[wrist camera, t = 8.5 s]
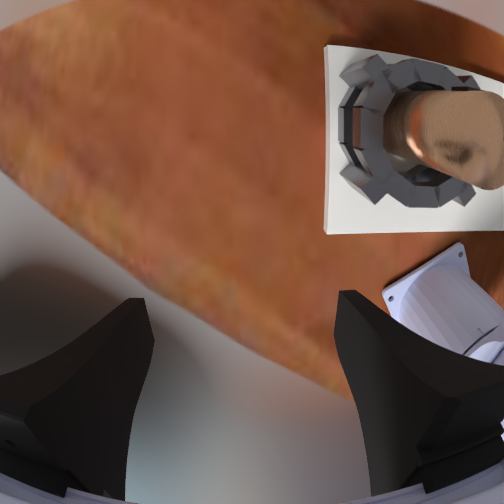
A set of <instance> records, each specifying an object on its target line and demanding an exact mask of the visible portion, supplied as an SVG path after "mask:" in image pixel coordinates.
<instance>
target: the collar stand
mask: <svg viewBox="0 0 504 504" xmlns="http://www.w3.org/2000/svg"><path fill="white" fill-rule="evenodd" d="M339 76H340V77H341V78H342V79H343V80H344V81H345V82H346V84H347V85H348V86H349V89H348V91H347V92H346V94H345V96H344V97H343V99H342V101H341V103H340V104H339V107H341V108H338V141H340V142H339V145H340V147H341V149H342V150H343V152H344V154H345V156H346V158H347V160H348V162H349V164H348V165H347V166H346V167H345V168H344V169H343V170H342V171H341V172H340V173H339V174H340V175H341V176H342V177H343V178H344V180H345V181H346V182H347V183H348V184H349V185H350V186H351V187H352V188H353V189H355V190H356V191H357V192H359V193H360V194H361V195H362V196H364V197H365V198H366V199H368V200H369V201H370V202H371V203H373V204H374V205H376V204H377V203H378V202H379V201H380V200H381V199H382V198H383V197H384V196H385V195H386V194H388V195H390V196H391V197H393V198H394V199H396V200H397V201H399V202H400V203H401V204H403V205H404V206H406V207H408V208H438V207H441V206H443V205H444V204H446V203H448V202H449V201H451V200H453V201H455V202H457V203H458V204H460V205H462V206H464V207H465V206H466V205H467V204H468V202H469V201H470V200H471V199H472V198H473V197H474V196H475V195H476V192H475V190H474V188H473V186H472V185H471V184H469V183H467V182H464V181H462V180H460V179H457V178H455V177H452V176H450V175H447V174H445V173H442V172H440V171H437V170H435V169H432V168H430V167H427V166H424V165H422V164H418V165H417V166H415V167H413V168H411V169H410V170H408V171H406V172H396V171H395V170H394V168H393V166H392V164H391V161H390V159H389V157H388V155H387V153H386V150H385V148H384V146H383V115H384V113H385V111H386V109H387V108H388V106H389V104H390V102H391V100H392V99H393V97H394V95H395V93H396V91H398V90H400V89H402V88H404V87H407V88H409V89H410V90H411V91H432V90H452V89H451V87H460V86H468V87H472V88H476V89H480V87H479V86H478V84H477V82H476V81H475V79H474V78H473V76H472V75H465V76H456V75H455V74H454V73H453V72H452V71H450V70H449V69H448V68H447V67H444V65H441V64H437V63H433V62H428V61H424V60H420V59H415V58H412V59H411V58H410V59H406V60H402V61H399V62H397V63H395V64H386V63H385V62H384V60H383V59H382V58H381V57H380V56H379V55H378V54H375V55H373V56H370V57H368V58H365V59H363V60H360V61H358V62H355V63H353V64H351V65H350V66H349V67H348V68H347V69H346V70H345V71H344V72H342V73H341V74H340V75H339Z"/></svg>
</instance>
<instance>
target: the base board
mask: <svg viewBox="0 0 504 504" xmlns="http://www.w3.org/2000/svg"><path fill="white" fill-rule="evenodd" d="M375 54H378V55H379V56H380V57H381V58H382V59H383V60H384V62H385V63H386V64H395V63H397V62H399V61H402V60H406V59H410V58H411V59H412V58H415V57H410V56H405V55H400V54H395V53H389V52H383V51H377V50H370V49H363V48H355V47H346V46H335V45H327V46H326V47H324V64H325V96H326V175H325V209H324V230H325V232H326V233H327V234H354V233H392V232H439V231H504V185H503V186H502V187H500V188H498V189H495V190H483V189H480V188H478V187H476V186H474V185H472V186H473V188H474V190H475V192H476V195H475V196H474V197H473V198H472V199H471V200H470V201H469V202H468V204H467V205H466V206H465V207H464V206H462V205H460V204H458V203H457V202H455V201H453V200H451V201H449V202H448V203H446V204H444V205H443V206H441V207H438V208H408V207H406V206H404V205H403V204H401V203H400V202H399V201H397V200H396V199H394V198H393V197H391V196H390V195H388V194H386V195H385V196H384V197H383V198H382V199H381V200H380V201H379V202H378V203H377V204H376V205H374V204H373V203H371V202H370V201H369V200H368V199H366V198H365V197H364V196H362V195H361V194H360V193H359V192H357V191H356V190H355V189H353V188H352V187H351V186H350V185H349V184H348V183H347V182H346V181H345V180H344V178H343V177H342V176H341V175H340V174H339V173H340V172H341V171H342V170H343V169H344V168H345V167H346V166H347V165H348V164H349V162H348V160H347V158H346V156H345V154H344V152H343V150H342V149H341V147H340V145H339V142H340V141H338V108H341V107H339V104H340V103H341V101H342V99H343V97H344V96H345V94H346V92H347V91H348V89H349V86H348V85H347V84H346V82H345V81H344V80H343V79H342V78H341V77H340V76H339V75H340V74H341V73H342V72H344V71H345V70H346V69H347V68H348V67H349V66H350V65H351V64H353V63H355V62H358V61H360V60H363V59H365V58H368V57H370V56H373V55H375ZM415 59H420V58H415ZM420 60H424V59H420ZM424 61H428V60H424ZM428 62H433V61H428ZM433 63H437V62H433ZM437 64H441V63H437ZM441 65H444V64H441ZM444 67H447V68H448V69H449V70H450V71H452V72H453V73H454V74H455V75H456V76H465V75H472V76H473V78H474V79H475V81H476V82H477V84H478V86H479V87H480V89H481V90H484V91H490V92H494V93H496V94H498V95H500V96H501V97H502V98H504V83H501V82H499V81H496V80H493V79H490V78H487V77H485V76H482V75H478V74H475V73H472V72H469V71H466V70H462V69H459V68H455V67H452V66H448V65H444ZM406 91H411V90H410V89H409V88H407V87H404V88H402V89H400V90H398V91H396V92H406ZM386 153H387V152H386ZM387 155H388V157H389V159H390V161H391V164H392V166H393V168H394V170H395V171H396V172H406V171H408V170H410V169H411V168H413V167H415V166H417V165H418V164H419V163H416V162H413V161H411V160H408V159H405V158H402V157H399V156H396V155H393V154H390V153H387Z"/></svg>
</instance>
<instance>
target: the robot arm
mask: <svg viewBox="0 0 504 504" xmlns="http://www.w3.org/2000/svg"><path fill="white" fill-rule="evenodd" d="M460 252H461V253H460ZM459 253H460V255H459ZM382 296H383V298H384V300H385V303H386V305H387V307H388V310H389V312H390V314H391V316H389V315H388V314H387V313H385V312H384V311H383V310H381V309H380V308H379V307H377V306H376V305H375V304H373V303H372V302H371V301H370V300H368V299H367V298H366V297H364V296H363V295H362V294H360V293H359V292H357V291H356V290H344V291H339V297H338V305H337V313H336V321H335V328H334V339H335V343H336V348H337V352H338V356H339V359H340V362H341V365H342V368H343V370H344V373H345V376H346V378H347V381H348V384H349V386H350V389H351V392H352V395H353V397H354V400H355V403H356V406H357V410H358V413H359V418H360V422H361V427H362V432H363V437H364V443H365V448H366V454H367V460H368V468H369V476H370V487H371V497H369V498H364V499H360V500H355V501H349V502H344V503H338V504H504V310H503V309H502V308H501V307H500V306H499V305H498V304H497V303H496V302H495V301H494V300H493V299H492V298H491V297H490V296H489V295H488V294H487V293H486V292H485V291H484V290H483V289H482V288H481V287H480V286H479V285H478V284H477V283H476V282H475V281H474V280H473V279H471V278H470V272H469V267H468V262H467V258H466V253H465V248H464V245H463V244H462V243H460V242H458V243H456V244H454V245H453V246H451V247H450V248H448V249H447V250H445V251H444V252H442V253H441V254H439V255H438V256H436V257H435V258H433V259H431V260H430V261H428V262H427V263H425V264H424V265H422V266H420V267H419V268H417V269H416V270H414V271H412V272H411V273H409V274H408V275H406V276H404V277H403V278H401V279H399V280H398V281H396V282H394V283H393V284H391V285H389V286H388V287H386V288H385V289H384V290H383V291H382ZM390 296H392V298H390V299H389V297H390ZM154 341H155V340H154V337H153V333H152V329H151V325H150V321H149V317H148V313H147V310H146V306H145V301H144V298H129V299H127V300H125V301H124V302H123V303H121V304H120V305H119V306H118V307H116V308H115V309H114V310H113V311H111V312H110V313H109V314H108V315H106V316H105V317H104V318H103V319H101V320H100V321H99V322H98V323H96V324H95V325H94V326H93V327H91V328H90V329H89V330H87V331H86V332H84V333H83V334H82V335H80V336H79V337H78V338H76V339H75V340H73V341H72V342H71V343H69V344H67V345H66V346H64V347H63V348H61V349H59V350H58V351H56V352H54V353H53V354H51V355H49V356H47V357H45V358H43V359H41V360H39V361H37V362H35V363H33V364H30V365H28V366H26V367H23V368H21V369H18V370H16V371H13V372H10V373H7V374H4V375H0V504H137V503H131V502H126V501H125V479H126V465H127V455H128V446H129V439H130V432H131V427H132V421H133V416H134V412H135V409H136V405H137V402H138V399H139V396H140V393H141V390H142V387H143V384H144V381H145V377H146V375H147V372H148V369H149V366H150V362H151V357H152V352H153V347H154Z"/></svg>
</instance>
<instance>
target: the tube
mask: <svg viewBox="0 0 504 504" xmlns="http://www.w3.org/2000/svg"><path fill="white" fill-rule="evenodd" d="M451 89H452V90H432V91H406V92H396V93H395V95H394V97H393V99H392V100H391V102H390V104H389V106H388V108H387V109H386V111H385V113H384V115H383V146H384V148H385V150H386V152H387V153H390V154H393V155H396V156H399V157H402V158H405V159H408V160H411V161H413V162H416V163H419V164H422V165H424V166H427V167H430V168H432V169H435V170H437V171H440V172H442V173H445V174H447V175H450V176H452V177H455V178H457V179H460V180H462V181H464V182H467V183H469V184H471V185H474V186H476V187H478V188H480V189H483V190H495V189H498V188H500V187H502V186H503V185H504V98H502V97H501V96H500V95H498V94H496V93H494V92H490V91H484V90H481V89H476V88H472V87H468V86H460V87H451Z"/></svg>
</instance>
